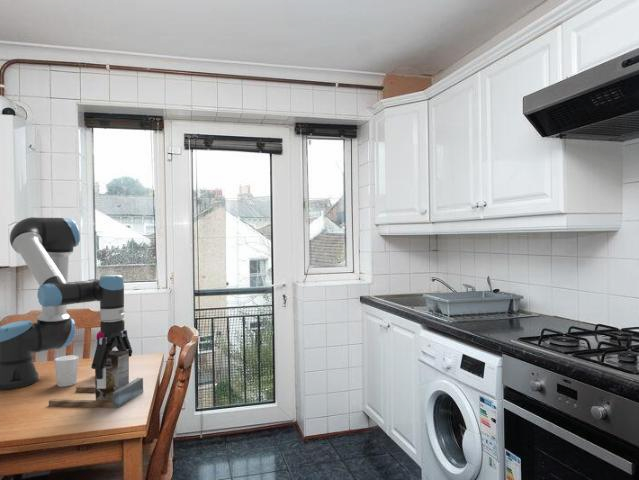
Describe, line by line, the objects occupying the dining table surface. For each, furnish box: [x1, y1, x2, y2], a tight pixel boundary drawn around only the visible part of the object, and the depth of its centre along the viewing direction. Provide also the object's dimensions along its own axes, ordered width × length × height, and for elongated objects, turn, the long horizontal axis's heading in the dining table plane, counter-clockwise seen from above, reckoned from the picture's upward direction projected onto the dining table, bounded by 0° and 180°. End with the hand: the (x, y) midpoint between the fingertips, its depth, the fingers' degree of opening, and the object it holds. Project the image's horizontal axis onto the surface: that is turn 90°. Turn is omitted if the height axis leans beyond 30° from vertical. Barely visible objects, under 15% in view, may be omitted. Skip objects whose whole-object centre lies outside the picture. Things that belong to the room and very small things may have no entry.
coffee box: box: [94, 349, 130, 401], centre depth 153 cm, size 9×6×16 cm
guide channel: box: [48, 377, 144, 409], centre depth 153 cm, size 25×15×5 cm, turn 83°
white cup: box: [54, 354, 79, 388], centre depth 170 cm, size 8×8×10 cm
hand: (113, 381), depth 153 cm, fingers open, 13 cm apart
